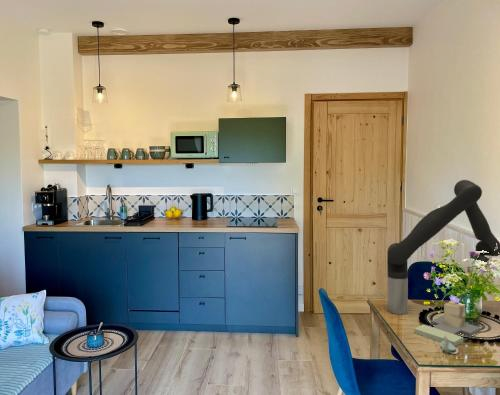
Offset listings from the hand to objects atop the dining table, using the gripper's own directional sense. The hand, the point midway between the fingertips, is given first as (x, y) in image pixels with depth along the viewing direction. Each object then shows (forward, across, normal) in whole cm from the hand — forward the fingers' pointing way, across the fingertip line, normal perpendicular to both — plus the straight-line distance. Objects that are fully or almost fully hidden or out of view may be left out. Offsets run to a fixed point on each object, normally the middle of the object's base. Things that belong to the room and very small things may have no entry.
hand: (463, 309), depth 178 cm
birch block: (+9, 0, -2) cm, 9 cm away
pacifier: (+26, +9, -15) cm, 31 cm away
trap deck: (+14, 0, -5) cm, 15 cm away
